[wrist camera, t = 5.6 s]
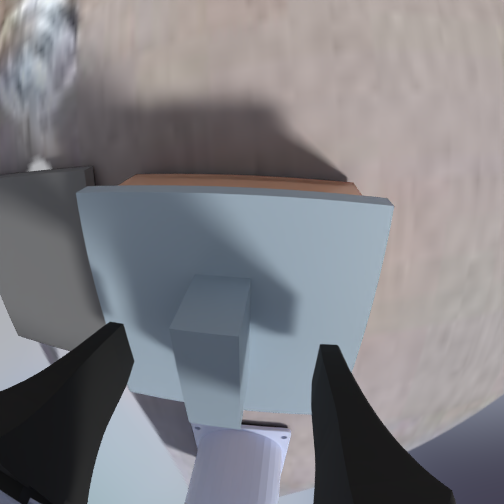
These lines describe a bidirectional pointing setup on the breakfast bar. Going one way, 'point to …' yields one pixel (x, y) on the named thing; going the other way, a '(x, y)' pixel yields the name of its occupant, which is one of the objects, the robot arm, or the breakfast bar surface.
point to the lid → (233, 288)
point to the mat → (47, 257)
